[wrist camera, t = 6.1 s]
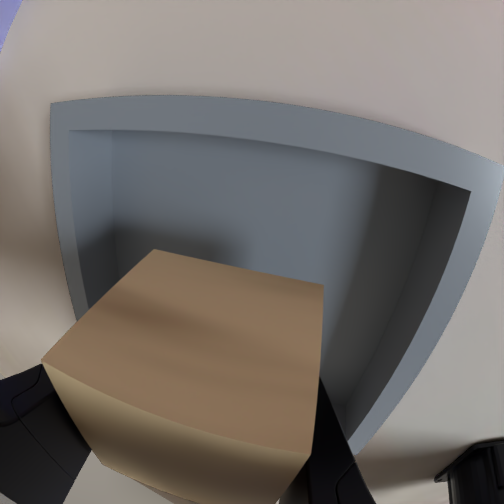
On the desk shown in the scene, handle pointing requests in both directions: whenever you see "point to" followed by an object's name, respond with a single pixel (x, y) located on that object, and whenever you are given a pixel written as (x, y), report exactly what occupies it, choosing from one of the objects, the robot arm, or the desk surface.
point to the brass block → (196, 378)
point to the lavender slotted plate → (7, 17)
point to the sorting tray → (282, 220)
